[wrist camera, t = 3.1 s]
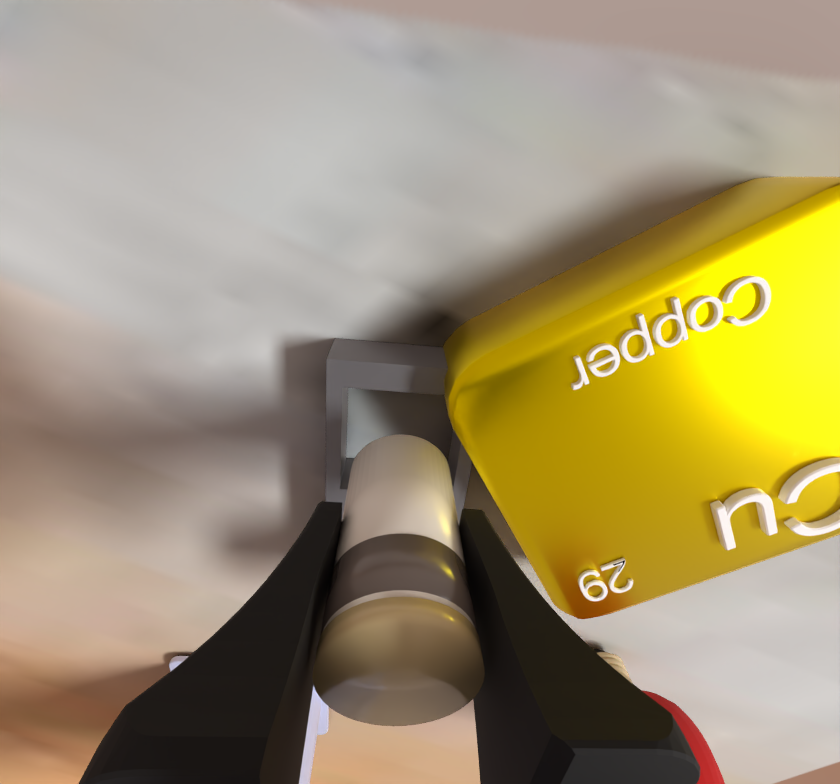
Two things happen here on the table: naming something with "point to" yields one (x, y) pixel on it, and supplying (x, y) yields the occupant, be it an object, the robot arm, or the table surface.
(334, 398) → the fuse block
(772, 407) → the element tile
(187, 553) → the table surface
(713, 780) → the light bulb
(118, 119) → the table surface
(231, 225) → the table surface
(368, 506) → the fuse
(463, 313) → the table surface
